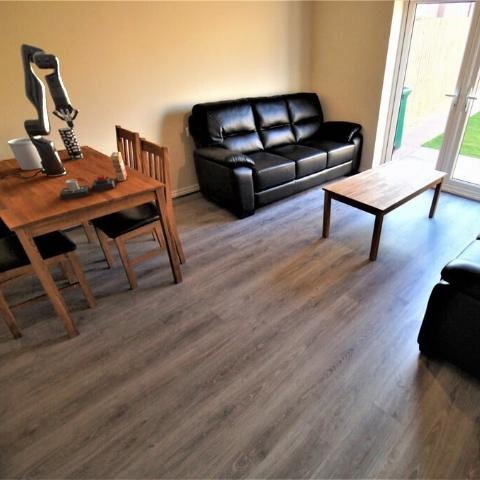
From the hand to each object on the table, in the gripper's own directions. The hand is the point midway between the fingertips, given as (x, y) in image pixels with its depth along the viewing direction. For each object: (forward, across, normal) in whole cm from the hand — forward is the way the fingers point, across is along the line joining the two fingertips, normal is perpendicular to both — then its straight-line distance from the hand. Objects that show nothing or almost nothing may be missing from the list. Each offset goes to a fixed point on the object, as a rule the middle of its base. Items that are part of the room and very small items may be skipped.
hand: (71, 127), depth 188 cm
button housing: (+29, -10, +26) cm, 40 cm away
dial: (+26, +3, +31) cm, 41 cm away
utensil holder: (+29, +35, -33) cm, 56 cm away
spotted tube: (+29, +13, -44) cm, 54 cm away
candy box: (+29, -19, +14) cm, 38 cm away
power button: (+24, -10, +26) cm, 37 cm away
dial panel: (+29, +4, +31) cm, 43 cm away
